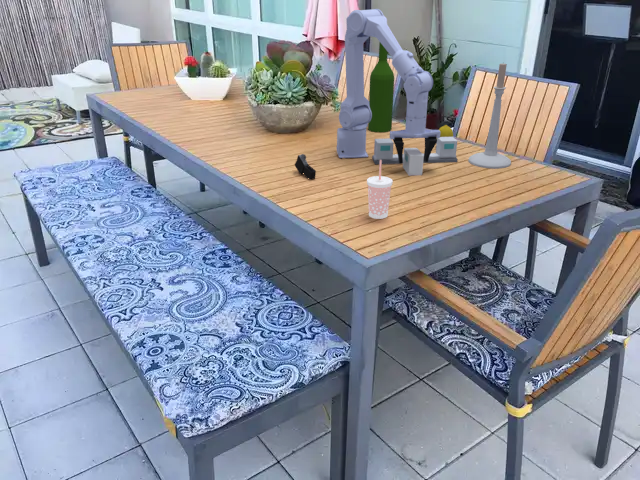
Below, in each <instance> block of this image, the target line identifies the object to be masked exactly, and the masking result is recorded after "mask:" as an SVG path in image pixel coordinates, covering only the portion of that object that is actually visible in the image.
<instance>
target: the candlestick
mask: <svg viewBox="0 0 640 480" xmlns="http://www.w3.org/2000/svg"><path fill="white" fill-rule="evenodd" d="M498 65H499V66H498V74H497V80H496V86H493V89H494V94H495V99H494V102H493V108H492V112H491V113H492V114H491V116H490V117H491V119H490V122H489V128H488V134H487V138H486V144H485V149H484V151H483V152H482V151H481V152H477V153H474V154H472V155H470V156H469V157H468V163H469V164H471V165H473V166H475V167H477V168H483V169H492V170H493V169H497V170H498V169H504V168H508V167H510V166H511V165H512V160H511V159H510V158H509V157H507V156H506V155H504V154H502V153H498V143H499V142H498V141H499V133H500V132H499V131H500V121H501V109H502V97H503V95H504V93H505V90H506V89H507V87H506V86H505V78H506V73H507V72H506V71H507V67H508V66H507V65H508V64H507V63H499V64H498Z"/></svg>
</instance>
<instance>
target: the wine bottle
mask: <svg viewBox="0 0 640 480" xmlns="http://www.w3.org/2000/svg"><path fill="white" fill-rule="evenodd" d="M378 46H379V47H378V61H377V62H376V64H375V66H374V67H373V69H372V71H371V72H370V76H369V89H368V91H369V94H368V95H369V96H368V97H369V98H368V101H369V106H370V109H371V112H372V118H371V121H370V122H369V123H368V127H367V129H368V131H370V132H374V133H388V132H389V133H390V131H391V130H392V128H393V112H394V111H393V108H394V92H395V73H394V71H393V69H392V68H391V66H390V64H389V62H388V51H387V50H386V49H385V48H384V46H383V45H382V44H381V43H380V42H379V45H378Z"/></svg>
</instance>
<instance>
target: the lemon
mask: <svg viewBox="0 0 640 480" xmlns="http://www.w3.org/2000/svg"><path fill="white" fill-rule="evenodd" d="M438 130H439V131H440V137H453V138H454V132H453V131H454V130H453V129H452V128H451V127H450V126H448V125H447V124H444V125H443V126H440V127H439V129H438ZM436 139H437V138H436Z"/></svg>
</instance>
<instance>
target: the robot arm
mask: <svg viewBox="0 0 640 480" xmlns="http://www.w3.org/2000/svg"><path fill="white" fill-rule="evenodd" d="M345 19H346V20H345V21H346V22H345V23H346V31H345V35H344V52H345V54H344V56H345V83H346V84H345V86H346V87H345V88H346V89H345V90H346V96H345V99H344V100H343V101H342V102H341V104H340V111H339V114H338V120H339V121H338V122H339V125H341V127H338V128H337V131H336V153H337V155H338V158H339V159H350V158H353V159H356V158H357V159H358V158H368V157H369V154H368V152H367V151H366V150H367V149H366V148H367V128H368V123H369V122H370V121H371V118H372V112H371V109H370V106H369V99H367V97H366V96H365V77H364V76H365V72H364V70H365V69H364V43H365V42H366V41H367V40H368V39H369V38H370V37H373V38H376V39H377V40H378V42H379V43H381V44H382V45H383V46H384V48H385V49H386V50H387V51H388V52H387V54H389V55H390V56H391V58H392V59H391V65H392V66H393V68H394V69H395V70H396V72H397V74H399V76H400V78H401V79H402V81H403V82H404V83H403V89H404V91H405V94H406V97H405V98H406V115H405V129H401V130H392V131H389V138H390V139H391V140H392V141H393V143H394V144H393V145H394V147H395V149H396V152H397V154H398V161H399V163H402V161H403V154H404V146H405V143H404V140H403V139H424V161H425V163H424V164H427V163H426V162H428V159H429V156H430V154H431V153H432V151H433V149H434V148H435V147H436V144H437V139H436V138H440V131H439V129H427V128H426V125H427V115H428V114H427V111H428V101H429V92H430V91H431V90H432V88H433V86H434V79H433V76H432V74H431V73H430V72H429V71H427V70H424V69H423V68H422V67H421V66H420V64H418V62H417V60H415V58H414V56H415V55H414V54H413V53H412V52H411V51H409V50H406V49H405V50H404V49H403V48H402V47H401V45H400V43H399V41H398V40H397V38H396V37H395V35H394V33H393V32H392V30H391V28H390V27H389V25H388V18H387V17H386V16H385V15H384V13H383V11H382V10H381V9H379V8H372V9H361V10H360V9H355V10H353V11H351V13H350V14H349V15H348V16H347V17H345Z"/></svg>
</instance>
